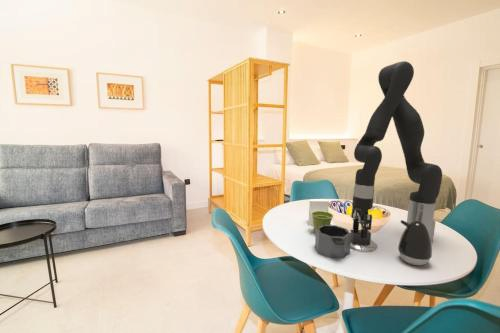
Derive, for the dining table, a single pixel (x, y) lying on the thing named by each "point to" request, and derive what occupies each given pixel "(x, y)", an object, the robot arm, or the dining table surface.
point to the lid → (362, 242)
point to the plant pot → (321, 218)
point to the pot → (332, 241)
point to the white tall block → (317, 208)
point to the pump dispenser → (415, 243)
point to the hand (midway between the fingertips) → (359, 233)
